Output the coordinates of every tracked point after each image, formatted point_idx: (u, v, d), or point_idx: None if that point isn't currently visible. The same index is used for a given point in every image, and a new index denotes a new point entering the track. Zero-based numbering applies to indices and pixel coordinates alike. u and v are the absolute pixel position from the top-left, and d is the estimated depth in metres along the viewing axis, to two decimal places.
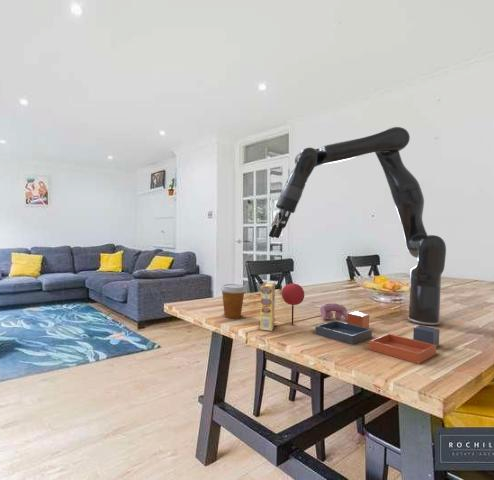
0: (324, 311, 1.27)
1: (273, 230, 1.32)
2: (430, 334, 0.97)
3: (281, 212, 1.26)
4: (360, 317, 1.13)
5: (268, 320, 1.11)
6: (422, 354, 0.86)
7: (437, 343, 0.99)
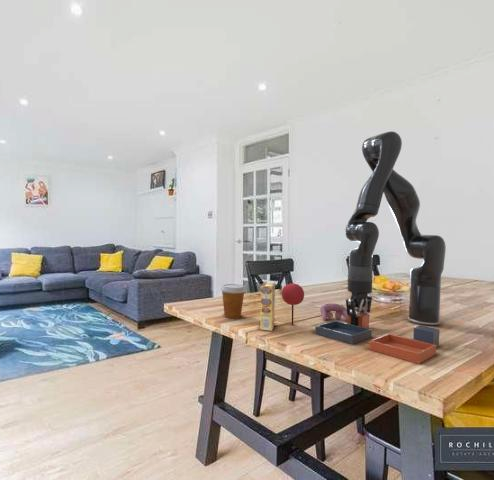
0: (324, 311, 1.27)
1: None
2: (430, 334, 0.97)
3: None
4: (360, 317, 1.13)
5: (268, 320, 1.11)
6: (422, 354, 0.86)
7: (437, 343, 0.99)
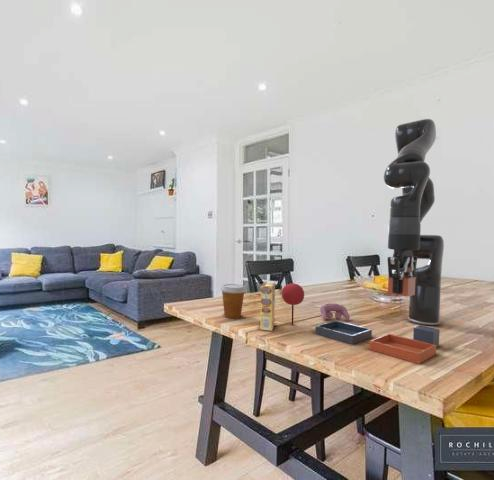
0: (324, 311, 1.27)
1: None
2: (430, 334, 0.97)
3: None
4: (405, 279, 0.91)
5: (268, 320, 1.11)
6: (422, 354, 0.86)
7: (437, 343, 0.99)
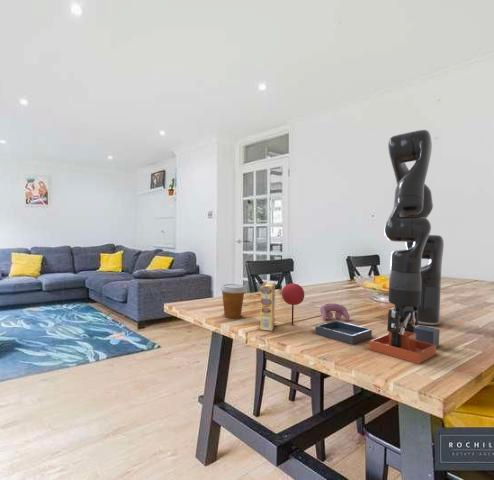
0: (324, 311, 1.27)
1: None
2: (430, 334, 0.97)
3: None
4: (406, 337, 0.91)
5: (268, 320, 1.11)
6: (422, 354, 0.86)
7: (437, 343, 0.99)
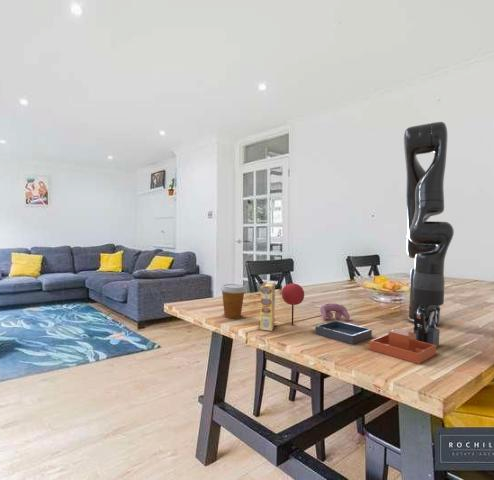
0: (324, 311, 1.27)
1: None
2: (430, 334, 0.97)
3: None
4: (406, 337, 0.91)
5: (268, 320, 1.11)
6: (422, 354, 0.86)
7: (437, 343, 0.98)
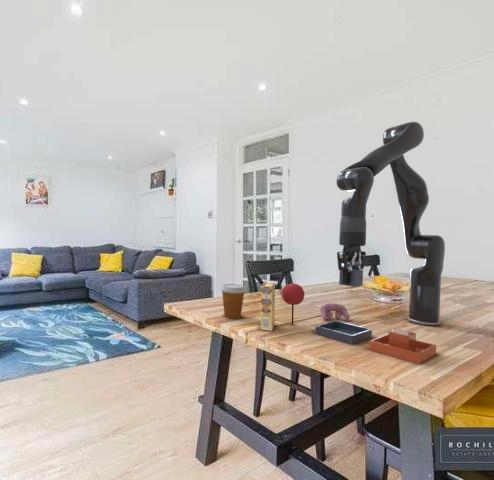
0: (324, 311, 1.27)
1: None
2: (353, 273, 1.03)
3: None
4: (406, 337, 0.91)
5: (268, 320, 1.11)
6: (422, 354, 0.86)
7: (360, 283, 1.05)
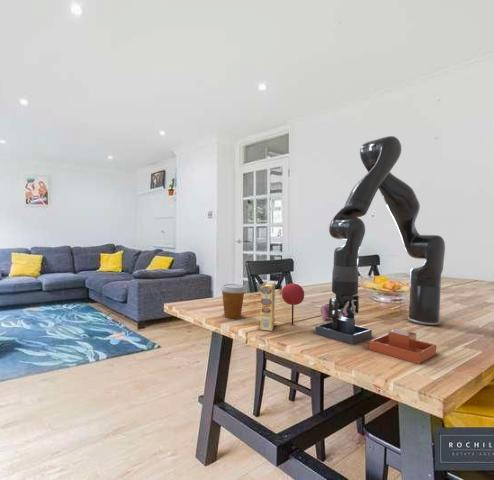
0: (324, 311, 1.27)
1: None
2: (345, 323, 1.04)
3: None
4: (406, 337, 0.91)
5: (268, 320, 1.11)
6: (422, 354, 0.86)
7: (352, 332, 1.06)
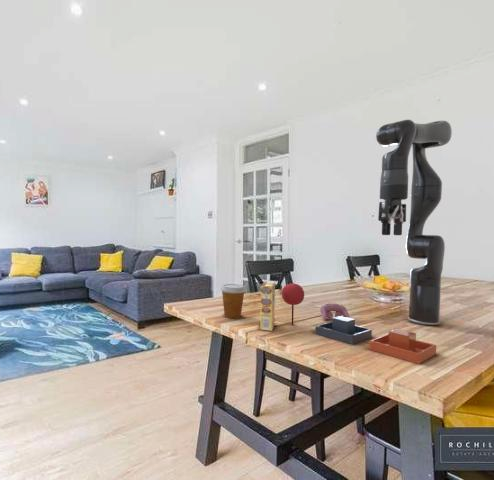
0: (324, 311, 1.27)
1: (396, 226, 1.09)
2: (345, 323, 1.04)
3: None
4: (406, 337, 0.91)
5: (268, 320, 1.11)
6: (422, 354, 0.86)
7: (352, 332, 1.06)
